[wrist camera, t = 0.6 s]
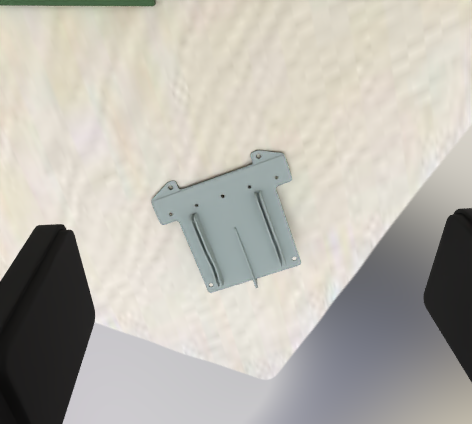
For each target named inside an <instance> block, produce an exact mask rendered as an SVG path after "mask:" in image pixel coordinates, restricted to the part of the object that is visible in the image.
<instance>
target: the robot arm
mask: <svg viewBox="0 0 472 424" xmlns="http://www.w3.org/2000/svg"><path fill="white" fill-rule="evenodd" d="M424 303H425V306H426V308H427V310H428V312H429V313H430V315H431V317H432V318H433V320H434V322H435V323H436V325H437V326H438V328H439V330H440V331H441V333H442V334H443V336H444V338H445V339H446V341H447V343H448V344H449V346H450V348H451V349H452V351H453V352H454V354H455V356H456V357H457V359H458V361H459V362H460V364H461V366H462V367H463V368H464V370H465V372H466V374H467V375H468V377H469V379H470V380H471V382H472V208H469V209H468V208H467V209H458V210H456V211H455V212H454V214H453V215H450V216H449V217H448V219H447V221H446V224H445V228H444V231H443V234H442V238H441V240H440V244H439V247H438V250H437V253H436V256H435V260H434V263H433V266H432V269H431V272H430V276H429V279H428V282H427V286H426V288H425V292H424ZM94 322H95V309H94V305H93V302H92V298H91V294H90V290H89V287H88V283H87V279H86V276H85V272H84V268H83V265H82V261H81V257H80V254H79V250H78V246H77V243H76V239H75V235H74V233H73V231H72V230H66V228H65V226H64V225H62V224H56V225H38V226H36V228H35V229H34V230H33V232H32V233H31V235H30V237H29V238H28V240H27V241H26V243H25V244H24V246H23V247H22V249H21V250H20V252H19V254H18V255H17V257H16V258H15V260H14V261H13V263H12V264H11V266H10V267H9V269H8V271H7V272H6V274H5V275H4V277H3V278H2V280H1V281H0V424H62V423H63V420H64V417H65V414H66V411H67V407H68V404H69V401H70V398H71V395H72V392H73V389H74V385H75V382H76V379H77V376H78V373H79V370H80V366H81V363H82V360H83V357H84V354H85V351H86V348H87V344H88V341H89V338H90V335H91V332H92V329H93V325H94Z"/></svg>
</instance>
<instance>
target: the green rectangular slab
mask: <svg viewBox="0 0 472 424" xmlns="http://www.w3.org/2000/svg"><path fill="white" fill-rule="evenodd" d="M155 4H156V2H155V0H0V5H42V6H154V5H155Z"/></svg>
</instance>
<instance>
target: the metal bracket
mask: <svg viewBox="0 0 472 424" xmlns="http://www.w3.org/2000/svg"><path fill="white" fill-rule="evenodd" d="M257 154H260V155H261V158H259V159H258V158H256V155H257ZM251 158H252V162H253V163H252V164H251V165H249V166H246V167H244V168H241V169H238V170H235V171H232V172H230V173H227V174H224V175H221V176H218V177H215V178H213V179H210V180H207V181H204V182H201V183H199V184H196V185H193V186H190V187H187V188H184V189H179V188H178V185H177V183H176V182H175V181H171V182H168V183H167V184H166V185H165V186H164V187H163V188H162V189H161V190H160V191H159V192H158V193H157V195H156V196H155V197H154V198H153V199H152V206H153V208H154V210H155V213H156V215H157V217H158V220H159V222H160V223H161V224H162V225H165V224H168V223H171V222H174V221H178V222H179V223H180V225H181V227H182V230H183V232H184V235H185V237H186V239H187V242H188V244H189V247H190V249H191V251H192V254H193V256H194V259H195V261H196V263H197V266H198V268H199V270H200V273H201V275H202V278H203V280H204V282H205V285H206V287H207V290H208V291H209V292H210V293H212V292H215V291H219V290H222V289H225V288H228V287H231V286H234V285H238V284H241V283H244V282H247V281H250V280H253V282H254V284H255V287H256V288H258V285H257V278H260V277H263V276H266V275H269V274H273V273H276V272H279V271H282V270H285V269H288V268H292V267H295V266H298V265H300V264H301V260H300V257H299V254H298V252H297V249H296V246H295V243H294V240H293V237H292V234H291V231H290V229H289V226H288V223H287V220H286V217H285V214H284V211H283V208H282V205H281V203H280V200H279V197H278V194H277V191H276V187H277V186H279V185H281V184H284V183H287V182H290V181H291V180H292V176H291V173H290V170H289V167H288V164H287V161H286V158H285V155H284V154H283V153H278V152H269V151H261V150H257V151H254V152H252V153H251ZM275 176H278V179H275ZM169 185H171V186H173V189H172V190H170V189H169V188H168V187H169ZM249 185H250V186H251V188H248V186H249ZM221 195H224V196H225V197H224V198H222V197H221ZM195 204H198V207H196V206H195ZM169 213H172V214H173V215H172V216H171V215H170V214H169ZM294 256H295V257H296V258H297V259H296V260H292V257H294ZM210 283H212V284H213V286H212V287H210V286H209V284H210Z"/></svg>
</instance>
